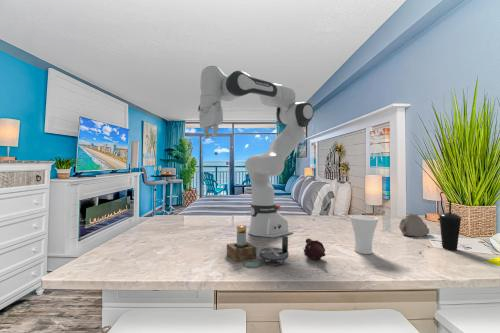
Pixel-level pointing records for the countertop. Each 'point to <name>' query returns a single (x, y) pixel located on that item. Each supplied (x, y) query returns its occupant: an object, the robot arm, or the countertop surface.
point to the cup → (363, 232)
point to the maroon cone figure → (314, 249)
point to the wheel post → (274, 262)
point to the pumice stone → (413, 226)
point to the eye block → (241, 252)
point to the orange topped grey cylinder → (241, 236)
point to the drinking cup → (450, 229)
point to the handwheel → (276, 251)
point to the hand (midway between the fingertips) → (210, 137)
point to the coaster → (252, 264)
